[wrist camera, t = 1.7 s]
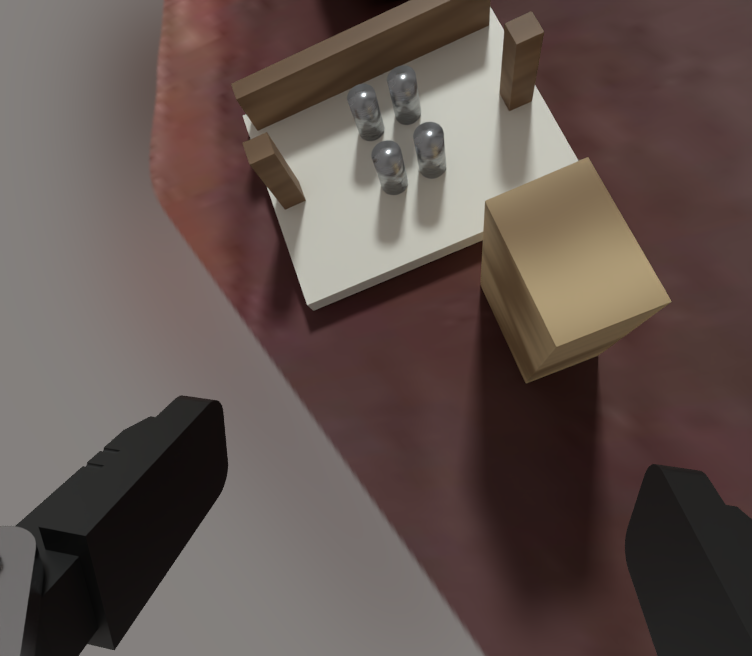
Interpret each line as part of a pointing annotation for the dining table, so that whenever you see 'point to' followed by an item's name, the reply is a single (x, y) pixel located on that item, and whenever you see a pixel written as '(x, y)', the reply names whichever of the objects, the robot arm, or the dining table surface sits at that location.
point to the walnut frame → (374, 71)
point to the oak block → (564, 271)
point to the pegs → (406, 113)
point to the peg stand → (408, 171)
